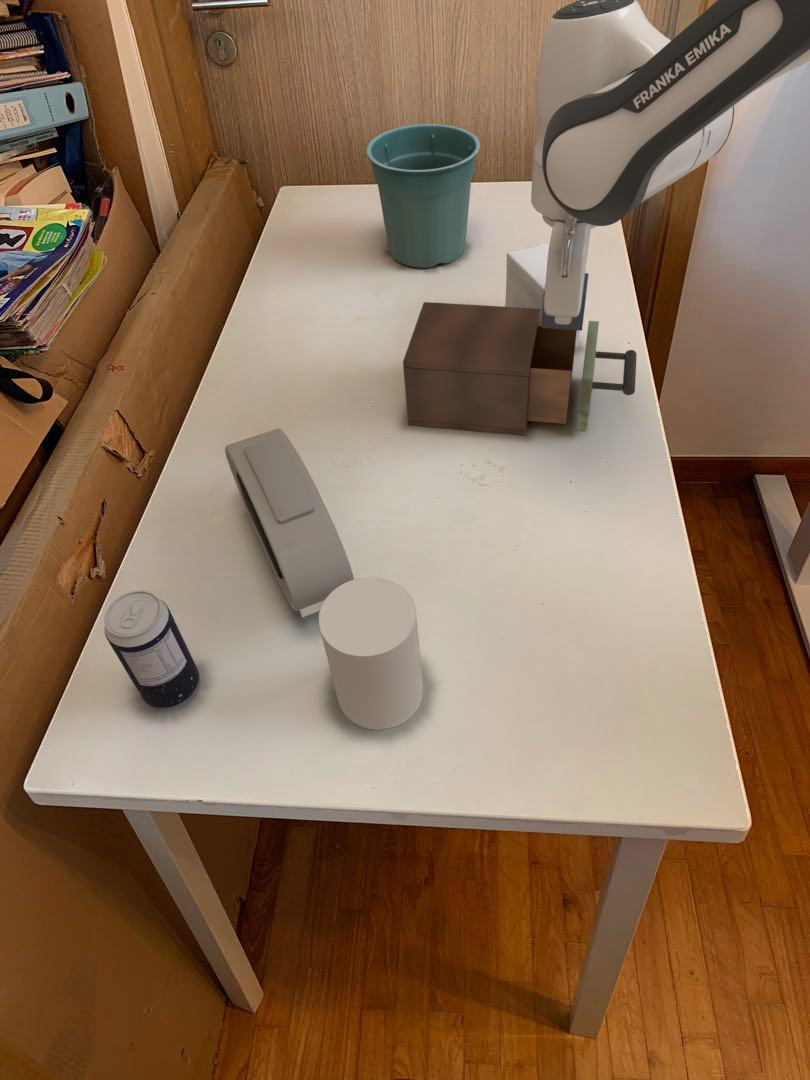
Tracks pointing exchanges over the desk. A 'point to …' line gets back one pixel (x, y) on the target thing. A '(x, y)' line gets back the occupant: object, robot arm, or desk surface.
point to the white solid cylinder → (373, 651)
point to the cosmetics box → (528, 278)
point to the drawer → (569, 375)
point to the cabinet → (470, 367)
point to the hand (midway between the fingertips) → (565, 305)
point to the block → (575, 321)
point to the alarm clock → (289, 519)
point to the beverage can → (151, 648)
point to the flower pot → (424, 190)
